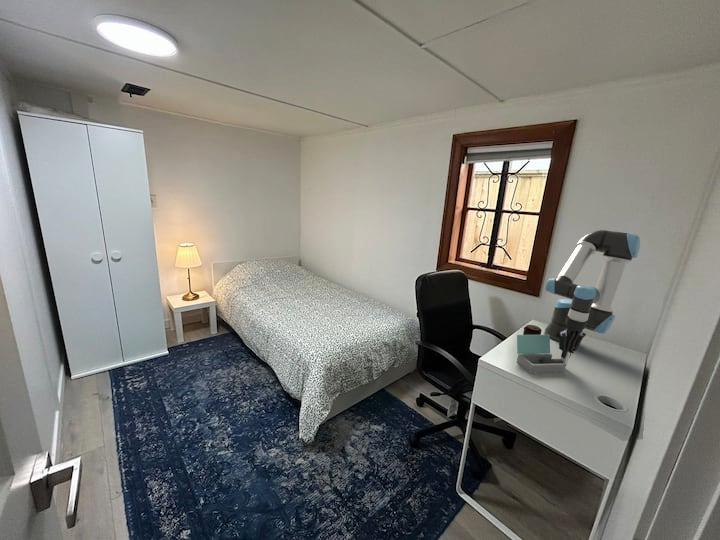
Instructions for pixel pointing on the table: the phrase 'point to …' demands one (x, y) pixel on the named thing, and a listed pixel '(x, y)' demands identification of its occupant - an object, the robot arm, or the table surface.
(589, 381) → the table surface
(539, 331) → the coffee cup
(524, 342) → the cover
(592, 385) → the table surface
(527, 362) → the grey flat bent block
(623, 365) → the table surface
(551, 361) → the cylinder
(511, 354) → the table surface
